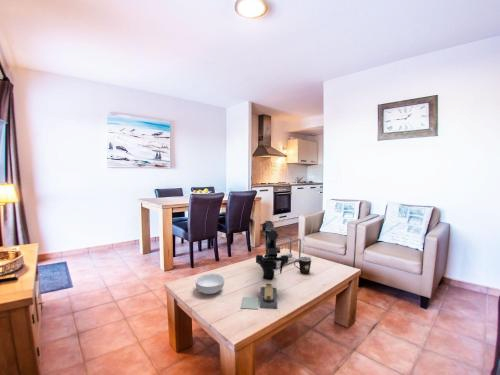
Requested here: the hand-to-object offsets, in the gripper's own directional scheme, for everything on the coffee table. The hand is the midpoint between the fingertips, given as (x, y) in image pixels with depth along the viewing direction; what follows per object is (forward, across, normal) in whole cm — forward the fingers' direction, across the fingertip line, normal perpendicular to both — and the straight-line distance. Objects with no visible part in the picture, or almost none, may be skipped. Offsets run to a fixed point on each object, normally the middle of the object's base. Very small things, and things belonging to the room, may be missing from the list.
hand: (272, 273), depth 140 cm
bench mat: (+15, -13, +4) cm, 20 cm away
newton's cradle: (-26, +14, +47) cm, 56 cm away
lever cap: (+15, -3, +4) cm, 16 cm away
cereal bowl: (+6, -36, +14) cm, 39 cm away
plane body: (+12, -2, +7) cm, 14 cm away
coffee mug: (-14, +25, +34) cm, 44 cm away
